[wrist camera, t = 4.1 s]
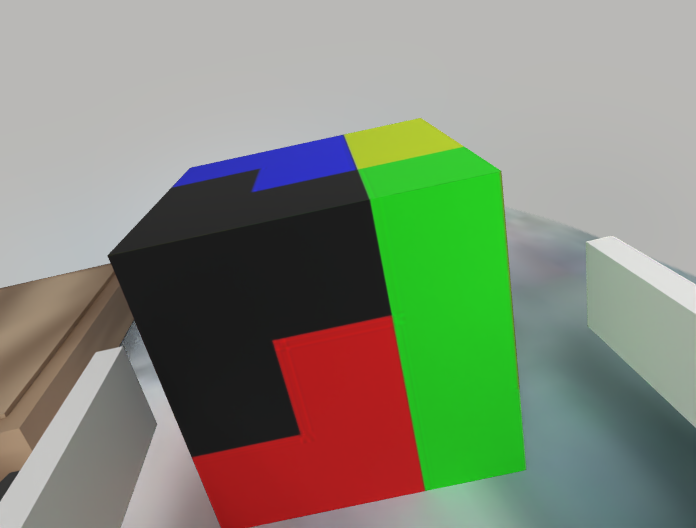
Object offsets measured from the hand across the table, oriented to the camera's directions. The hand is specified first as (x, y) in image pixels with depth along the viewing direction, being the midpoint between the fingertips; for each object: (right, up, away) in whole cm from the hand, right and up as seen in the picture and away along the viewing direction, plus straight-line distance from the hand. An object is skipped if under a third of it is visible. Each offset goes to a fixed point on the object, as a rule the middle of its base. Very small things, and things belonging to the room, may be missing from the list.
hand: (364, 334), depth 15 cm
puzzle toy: (0, -4, +7) cm, 8 cm away
